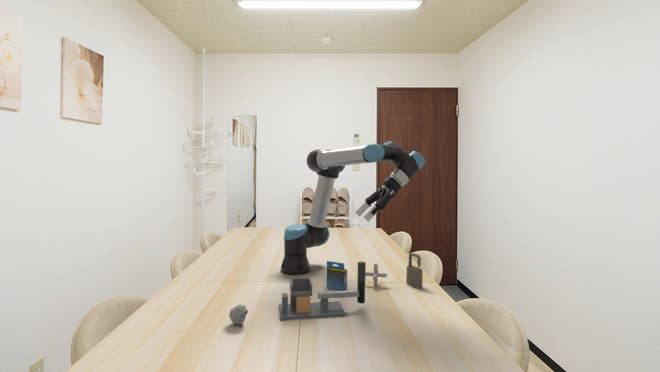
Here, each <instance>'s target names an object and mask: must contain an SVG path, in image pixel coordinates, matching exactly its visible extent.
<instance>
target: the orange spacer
mask: <svg viewBox="0 0 660 372" xmlns="http://www.w3.org/2000/svg"><path fill="white" fill-rule="evenodd" d="M310 303H311V296H302V297H296V311H297V313H299V312H310Z"/></svg>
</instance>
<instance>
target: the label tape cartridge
mask: <svg viewBox="0 0 660 372" xmlns="http://www.w3.org/2000/svg"><path fill="white" fill-rule="evenodd" d="M326 288H327V289H334V290H338V291H346V290H347V289H348V270H347V269H345V263H344V262H337V261H331V260H330V261H329V260H326Z"/></svg>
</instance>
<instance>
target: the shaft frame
mask: <svg viewBox="0 0 660 372" xmlns="http://www.w3.org/2000/svg"><path fill="white" fill-rule="evenodd" d="M289 291H290V295H288V293H287V292H284V293H282V292H281V304H278V311H279V313H280V314H279V321H292V320H296V321H297V320H306V319H307V320H308V319H309V320H310V319H321V318H325V319H326V318H335V317H336V318H337V317H346V316H347V313H346V311H345V309H344V307H343V306H342V304H341V302H340V300H333V301H332V300H331V301H329V299H320V301H319V302H317V301H316V302H310V312H299V313H297V311H296V297H302V296H310V297H312V296H313V282H312V280H311V277H309V276H308V277H307V276H306V277H291V278H289ZM289 296H290V303H289Z"/></svg>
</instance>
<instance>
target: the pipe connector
mask: <svg viewBox="0 0 660 372" xmlns="http://www.w3.org/2000/svg"><path fill="white" fill-rule="evenodd" d="M378 264H379V263H373V272H371V271H365V277H372V280H373V286H374V287H377V286H378V283H379V282H378V281H379V280H378V279H379V278H387V277H388V275H387V273H385V272H379V268H378V267H379V265H378ZM378 277H379V278H378Z"/></svg>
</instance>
